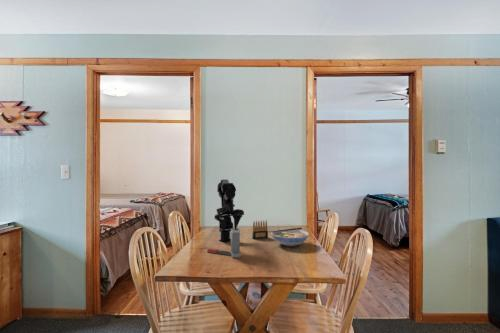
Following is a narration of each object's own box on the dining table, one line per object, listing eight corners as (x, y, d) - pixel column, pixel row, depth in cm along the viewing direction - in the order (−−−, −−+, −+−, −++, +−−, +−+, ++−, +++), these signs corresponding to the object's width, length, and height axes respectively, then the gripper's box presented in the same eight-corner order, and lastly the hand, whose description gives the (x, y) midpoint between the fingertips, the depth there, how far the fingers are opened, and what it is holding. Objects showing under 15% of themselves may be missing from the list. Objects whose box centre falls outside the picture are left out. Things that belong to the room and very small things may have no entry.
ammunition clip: (253, 239, 178) (253, 221, 178) (252, 238, 179) (252, 220, 180) (268, 238, 181) (268, 220, 181) (267, 237, 183) (267, 219, 183)
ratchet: (209, 251, 151) (209, 242, 151) (243, 254, 145) (243, 245, 145) (203, 254, 145) (203, 245, 145) (238, 258, 138) (238, 248, 138)
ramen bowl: (280, 252, 149) (280, 237, 149) (263, 242, 170) (263, 229, 170) (318, 247, 158) (318, 233, 158) (297, 238, 179) (297, 226, 179)
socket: (230, 251, 144) (230, 228, 144) (238, 250, 145) (238, 228, 145) (232, 253, 140) (232, 230, 140) (239, 253, 141) (239, 230, 141)
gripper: (207, 204, 159) (207, 231, 154) (230, 197, 149) (232, 226, 143) (220, 206, 168) (221, 232, 162) (243, 200, 157) (245, 227, 152)
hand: (229, 229), depth 155 cm, fingers open, 9 cm apart
